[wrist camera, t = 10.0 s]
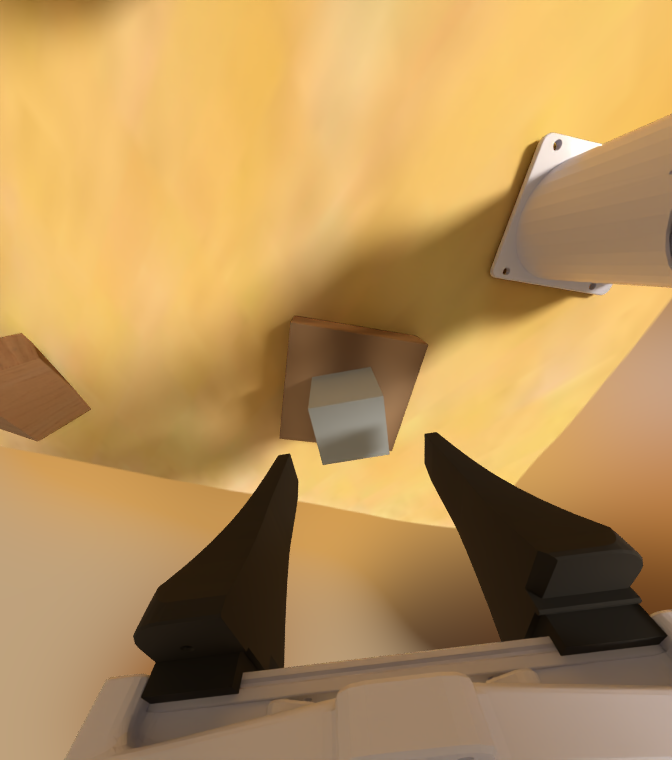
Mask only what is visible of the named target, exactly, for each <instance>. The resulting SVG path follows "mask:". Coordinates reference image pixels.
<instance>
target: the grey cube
mask: <svg viewBox="0 0 672 760" xmlns="http://www.w3.org/2000/svg"><path fill="white" fill-rule="evenodd" d="M308 411H309V414H310V418H311V422H312V426H313V430H314V433H315V437H316V441H317V445H318V448H319V452H320V456H321V460H322V464H323V465H326V464H332V463H338V462H345V461H351V460H357V459H363V458H370V457H376V456H382V455H388V454H389V445H388V435H387V425H386V416H385V406H384V397H383V394H382V392H381V389H380V387H379V385H378V382H377V380H376V378H375V376H374V373H373V371H372V369H371V367H367V368H361V369H356V370H350V371H344V372H339V373H333V374H327V375H322V376H316V377H312V381H311V389H310V397H309V405H308Z"/></svg>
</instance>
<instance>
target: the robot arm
mask: <svg viewBox="0 0 672 760" xmlns="http://www.w3.org/2000/svg"><path fill="white" fill-rule="evenodd" d="M554 143H556V145H557V146H556V150H554V149H553V145H554ZM505 268H506V273H505V274H504V275H503V270H504V269H505ZM490 275H491V276H492V277H494V278H500V279H506V280H512V281H518V282H523V283H529V284H535V285H541V286H547V287H553V288H559V289H565V290H571V291H577V292H583V293H589V294H595V295H603V294H605V293H607V292H608V291H609V289H610V288H611V286H612V284H623V285H638V286H654V287H669V288H672V114H670V115H668V116H666V117H663V118H661V119H659V120H656V121H654V122H652V123H650V124H647V125H645V126H643V127H640V128H638V129H636V130H634V131H631V132H629V133H627V134H624V135H622V136H620V137H618V138H615V139H613V140H611V141H608V142H606V143H604V144H600V143H596V142H591V141H587V140H583V139H579V138H575V137H570V136H566V135H562V134H558V133H549V134H547V135H546V136H544V137H543V138H542V139H541V140H540V141H539V143H538V145H537V148H536V151H535V153H534V156H533V158H532V161H531V164H530V166H529V169H528V172H527V174H526V177H525V180H524V182H523V185H522V188H521V190H520V193H519V195H518V198H517V201H516V203H515V206H514V209H513V211H512V214H511V217H510V219H509V222H508V225H507V227H506V230H505V233H504V235H503V238H502V240H501V243H500V246H499V248H498V251H497V254H496V256H495V259H494V262H493V264H492V267H491V270H490ZM590 284H591V286H590ZM589 286H590V288H589ZM425 466H426V468H427V471H428V474H429V476H430V478H431V481H432V483H433V485H434V487H435V489H436V491H437V492H438V494H439V496H440V498H441V500H442V502H443V504H444V506H445V507H446V509H447V511H448V513H449V515H450V517H451V519H452V520H453V522H454V524H455V526H456V528H457V530H458V532H459V535H460V537H461V539H462V542H463V544H464V546H465V549H466V551H467V553H468V556H469V558H470V561H471V563H472V566H473V568H474V571H475V573H476V576H477V578H478V581H479V583H480V586H481V588H482V591H483V593H484V596H485V599H486V601H487V603H488V606H489V609H490V612H491V614H492V617H493V620H494V623H495V625H496V628H497V631H498V634H499V636H500V639H501V642H497V643H488V644H480V645H471V646H463V647H455V648H447V649H438V650H430V651H421V652H413V653H406V654H405V653H404V654H396V655H388V656H379V657H371V658H363V659H354V660H346V661H338V662H329V663H321V664H313V665H304V666H296V667H288V668H284V648H285V647H284V646H285V617H286V595H287V577H288V563H289V552H290V544H291V538H292V532H293V526H294V519H295V513H296V507H297V500H298V478H297V475H296V472H295V469H294V465H293V462H292V459H291V455H290V454H284V455H279V456H278V457H277V458H276V460H275V462H274V463H273V465H272V466H271V468H270V470H269V471H268V473H267V474H266V476H265V477H264V479H263V480H262V482H261V483H260V485H259V486H258V488H257V489H256V491H255V492H254V493H253V495H252V496H251V497H250V499H249V500H248V501H247V503H246V504H245V505H244V507H243V508H242V509H241V510H240V512H239V513H238V514H237V515H236V516H235V517H234V519H233V520H232V521H231V522H230V523H229V524H228V525H227V526H226V527H225V528H224V530H223V531H222V532H221V533H220V534H219V535H218V536H217V537H216V538H215V539H214V540H213V541H212V542H211V543H210V544H209V545H208V546H207V547H206V548H204V549H203V550H202V551H201V552H200V553H199V554H198V555H197V556H196V557H195V558H193V559H192V560H191V561H190V562H189V563H188V564H187V565H185V566H184V567H183V568H182V569H181V570H179V571H178V572H177V573H176V574H175V575H173V576H172V577H171V578H170V579H168V580H167V581H166V582H165V583H163V584H162V585H161V586H159V587H158V589H157V591H156V593H155V594H154V596H153V598H152V600H151V602H150V604H149V606H148V608H147V609H146V611H145V613H144V615H143V617H142V619H141V621H140V623H139V625H138V627H137V629H136V631H135V633H134V636H133V637H134V641H135V644H136V645H137V646H138V648H139V649H140V650H142V651H143V652H144V653H145V654H146V655H148V656H149V657H150V658H151V659H152V660H154V661H155V662H156V664H155V665H154V668H153V670H152V672H151V675H150V676H149V675H145V674H134V675H126V676H118V677H110V678H109V679H108V680H106V682H105V683H104V685H103V687H102V689H101V691H100V693H99V695H98V697H97V699H96V700H95V702H94V705H93V706H92V708H91V710H90V712H89V714H88V716H87V717H86V719H85V721H84V723H83V725H82V727H81V729H80V731H79V733H78V734H77V736H76V738H75V740H74V742H73V744H72V746H71V748H70V750H69V751H68V753H67V755H66V757H65V759H64V760H672V610H663V611H659V612H655V613H653V614H651V615H650V616H649V615H648V613H647V612H646V611H645V610H644V609H643V608H642V607H641V606H640V605H639V604H638V603H641V602H642V600H641V598H640V597H639V596H638V595H637V594H636V593H635V591H634V590H633V589H632V588H631V587H630V586H631V584H632V583H633V581H634V580H635V579H636V577H637V576H638V574H639V573H640V571H641V569H642V567H643V561H642V557H641V556H640V554H639V553H638V552H637V551H635V550H634V549H633V548H632V547H631V546H630V545H629V544H627V542H626V541H625V540H623V538H621V537H620V536H619V535H618V534H617V533H616V532H615V531H613V530H612V529H611V528H610V527H607V526H605V525H602V524H600V523H597V522H594V521H592V520H589V519H586V518H584V517H581V516H578V515H576V514H573V513H571V512H568V511H566V510H564V509H561V508H559V507H557V506H554V505H552V504H550V503H548V502H546V501H543V500H541V499H539V498H537V497H535V496H533V495H531V494H529V493H527V492H525V491H523V490H521V489H519V488H517V487H515V486H514V485H512V484H510V483H508V482H507V481H505V480H503V479H501V478H500V477H498V476H496V475H495V474H493V473H491V472H490V471H488V470H487V469H485V468H484V467H482V466H481V465H479V464H478V463H476V462H475V461H473V460H472V459H471V458H469V457H468V456H467V455H465V454H464V453H462V452H461V451H460V450H459V449H457V448H456V447H455V446H453V445H452V444H451V443H450V442H448V441H447V440H446V439H444V438H443V437H442V436H441V435H439V434H438V433H437V432H434V433H427V434H425Z"/></svg>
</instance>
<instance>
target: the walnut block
mask: <svg viewBox="0 0 672 760" xmlns="http://www.w3.org/2000/svg"><path fill="white" fill-rule="evenodd" d="M427 347H428V344H427V343H425V342H424V341H423V340H421V339H420V338H419V337H417V336H414V335H408V334H402V333H396V332H390V331H384V330H378V329H372V328H366V327H360V326H354V325H348V324H342V323H336V322H330V321H324V320H318V319H312V318H306V317H300V316H294V318H293V319H292V321H291V322H290V333H289V344H288V354H287V365H286V375H285V386H284V396H283V407H282V417H281V428H280V439H289V440H298V441H307V442H316V443H317V441H316V437H315V433H314V430H313V426H312V422H311V418H310V414H309V411H308V405H309V397H310V389H311V381H312V377H316V376H322V375H327V374H333V373H339V372H344V371H350V370H356V369H361V368H367V367H371V369H372V371H373V373H374V376H375V378H376V380H377V382H378V385H379V387H380V389H381V392H382V394H383V397H384V406H385V416H386V425H387V435H388V445H389V451H392V449H393V446H394V443H395V440H396V437H397V434H398V431H399V429H400V426H401V423H402V420H403V417H404V414H405V411H406V408H407V405H408V402H409V399H410V396H411V394H412V391H413V388H414V385H415V382H416V379H417V376H418V373H419V370H420V367H421V364H422V362H423V359H424V356H425V353H426V350H427Z"/></svg>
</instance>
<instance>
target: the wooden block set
mask: <svg viewBox="0 0 672 760" xmlns="http://www.w3.org/2000/svg"><path fill="white" fill-rule="evenodd" d="M89 410H91V408H90V407H89V406H88V405H87V404H86V403H85V401H84V400H83V399H82V398H81V397H80V395H79V394H78V393H77V392H76V391H75V389H74V388H73V387H72V386H71V385H70V384H69V383H68V382H67V381H66V380H65V378H64V377H63V376H62V375H61V374H60V373H59V372H58V371H57V370H56V369H55V367H54V366H53V365H52V364H51V363H50V362H49V361H48V360H47V359H46V358H45V356H44V355H43V354H42V353H41V352H40V351H39V350H38V349H37V348H36V347H35V345H34V344H33V343H32V342H31V341H30V340H28V339H27V338H26V337H25V336H24V335H23V334H22V333H20V334H15V335H11V336H6V337H2V338H0V429H3V430H5V431H8V432H11V433H14V434H17V435H20V436H23V437H26V438H29V439H32V440H35V441H39V440H41V439H43V438H44V437H46V436H48V435H49V434H51V433H53V432H54V431H56V430H58V429H59V428H61V427H63V426H64V425H66V424H68V423H69V422H71V421H72V420H74V419H76V418H77V417H79V416H81V415H82V414H84V413H86V412H87V411H89Z"/></svg>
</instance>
